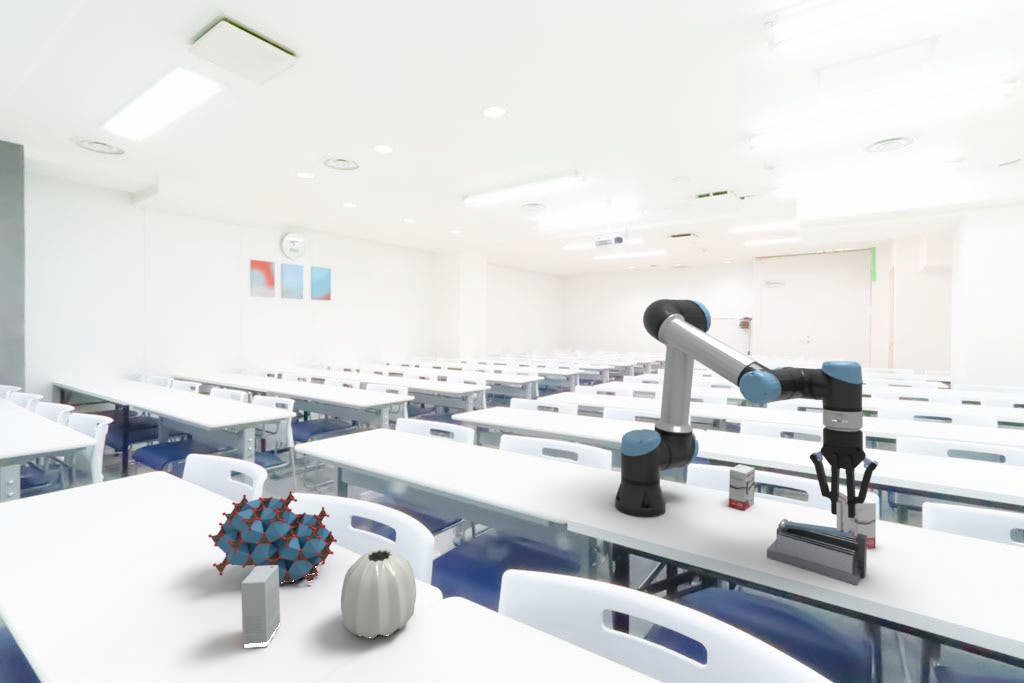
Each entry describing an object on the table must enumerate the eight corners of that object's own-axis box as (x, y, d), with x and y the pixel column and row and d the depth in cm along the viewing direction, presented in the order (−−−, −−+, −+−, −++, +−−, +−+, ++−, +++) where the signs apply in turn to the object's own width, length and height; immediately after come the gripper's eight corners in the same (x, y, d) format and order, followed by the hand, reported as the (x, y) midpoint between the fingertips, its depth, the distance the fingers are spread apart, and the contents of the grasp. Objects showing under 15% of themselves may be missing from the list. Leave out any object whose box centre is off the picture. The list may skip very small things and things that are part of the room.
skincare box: (257, 627, 89) (256, 565, 88) (280, 626, 89) (279, 564, 89) (241, 649, 83) (240, 582, 82) (266, 648, 83) (265, 581, 83)
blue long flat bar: (778, 528, 117) (777, 522, 117) (782, 524, 120) (782, 518, 120) (853, 539, 106) (852, 533, 107) (855, 534, 109) (854, 528, 109)
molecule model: (348, 518, 118) (253, 472, 112) (341, 543, 104) (233, 492, 99) (312, 577, 116) (214, 533, 111) (300, 611, 102) (188, 562, 97)
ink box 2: (876, 548, 120) (877, 502, 119) (856, 548, 120) (857, 502, 120) (854, 533, 128) (855, 490, 128) (835, 533, 129) (836, 490, 128)
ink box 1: (744, 511, 144) (745, 472, 143) (728, 506, 147) (728, 469, 147) (754, 503, 150) (755, 466, 149) (738, 499, 153) (739, 463, 153)
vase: (344, 658, 81) (343, 581, 80) (339, 612, 93) (338, 545, 93) (424, 636, 86) (423, 564, 86) (409, 596, 99) (408, 533, 98)
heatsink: (766, 557, 115) (767, 521, 115) (780, 541, 124) (781, 508, 124) (860, 586, 102) (861, 546, 102) (869, 566, 111) (870, 529, 111)
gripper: (804, 427, 111) (805, 526, 111) (877, 434, 101) (878, 543, 102) (811, 422, 116) (812, 517, 117) (882, 429, 107) (883, 533, 107)
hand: (843, 529), depth 109 cm, fingers closed
